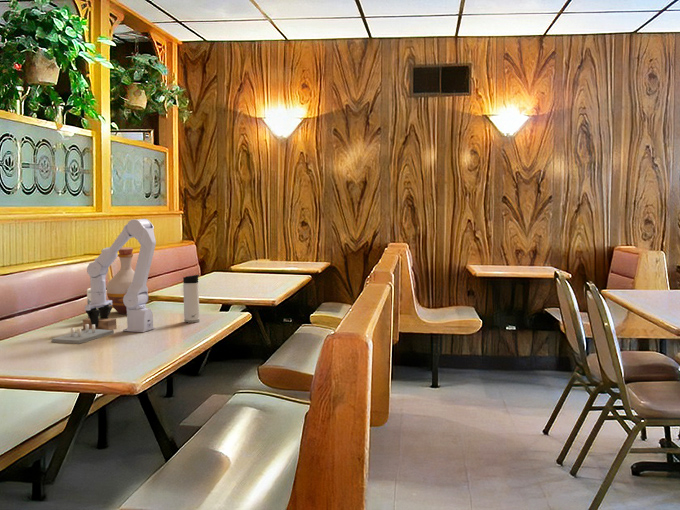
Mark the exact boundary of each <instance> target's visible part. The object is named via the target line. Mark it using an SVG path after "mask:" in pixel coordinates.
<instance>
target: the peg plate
mask: <svg viewBox="0 0 680 510" xmlns="http://www.w3.org/2000/svg"><path fill="white" fill-rule="evenodd" d="M114 332H115V329H114V330H101V329H95V325H92V329H89V324H85V330H83V329H82V328H79V327H78V328H77V331H75V327H71V328H70V333H68V334H65V335H60V336H56V337H54V338H51V343H60V344H62V343H63V344H73V345H74V344H77V345H80V344H83V343H86V342H89V341H93V340H97V339H99V338H100V339H101V338H103V337H106V336H110V335H112V334H114Z"/></svg>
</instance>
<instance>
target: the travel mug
mask: <svg viewBox="0 0 680 510" xmlns="http://www.w3.org/2000/svg"><path fill="white" fill-rule="evenodd" d="M199 277H200V274H195V275H193V274H192V275H187V276H183V277H182V279H183V282H182V284H183V285H182V287H183V289H182V290H183V318H184V319H183V321H184V323H185V322H188V323H187V324H194V323H193V322H196V323H199V322H200V293H199V292H200V291H199Z"/></svg>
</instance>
